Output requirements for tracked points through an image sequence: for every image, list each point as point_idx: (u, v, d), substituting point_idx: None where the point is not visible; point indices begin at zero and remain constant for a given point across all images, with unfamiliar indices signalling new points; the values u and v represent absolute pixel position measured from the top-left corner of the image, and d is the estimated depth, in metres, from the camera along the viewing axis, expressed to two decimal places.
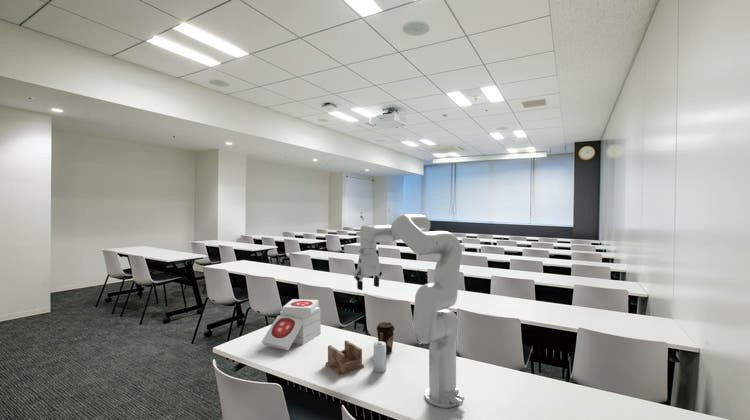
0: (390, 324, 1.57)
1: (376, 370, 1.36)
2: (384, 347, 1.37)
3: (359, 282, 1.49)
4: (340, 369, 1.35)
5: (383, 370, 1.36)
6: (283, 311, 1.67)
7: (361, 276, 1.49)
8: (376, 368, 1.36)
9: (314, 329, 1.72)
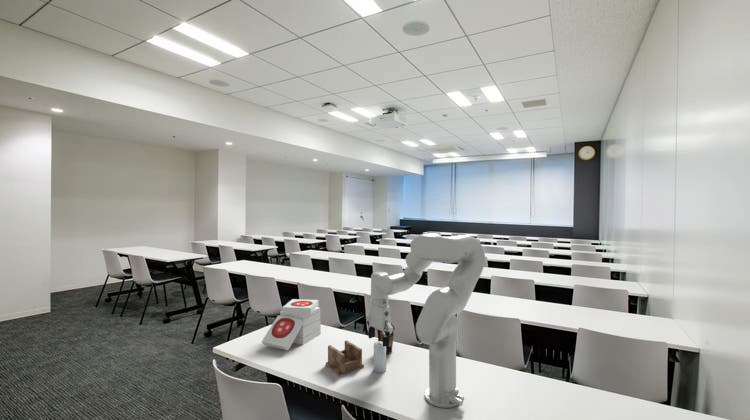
0: None
1: (376, 370, 1.36)
2: (384, 347, 1.37)
3: (388, 337, 1.35)
4: (340, 369, 1.35)
5: (383, 370, 1.36)
6: (283, 311, 1.67)
7: (388, 329, 1.36)
8: (376, 368, 1.36)
9: (314, 329, 1.72)
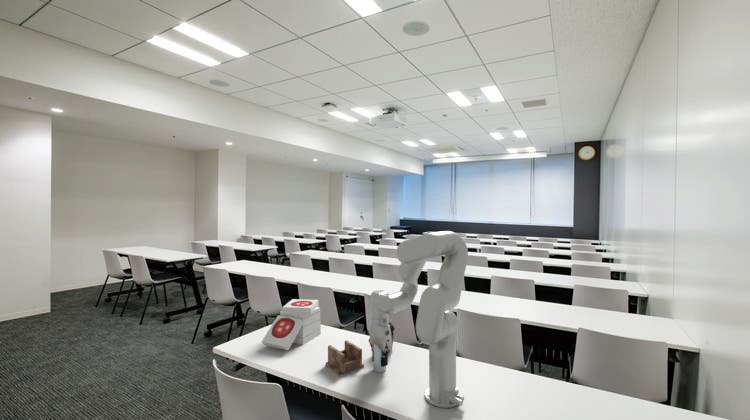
0: (390, 324, 1.57)
1: (376, 370, 1.36)
2: None
3: (386, 357, 1.36)
4: (340, 369, 1.35)
5: (383, 370, 1.36)
6: (283, 311, 1.67)
7: None
8: (376, 368, 1.36)
9: (314, 329, 1.72)
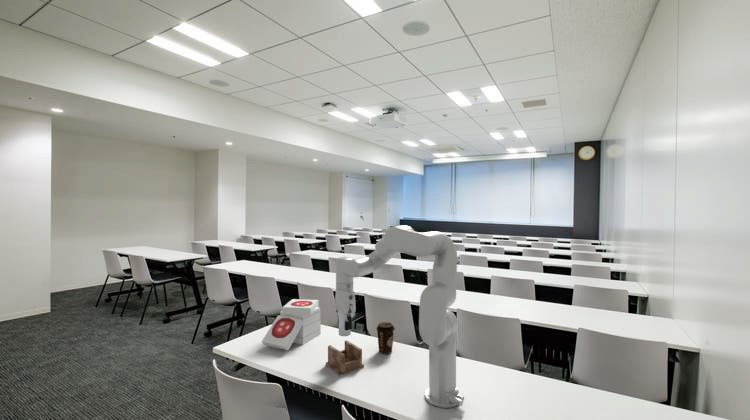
0: (390, 324, 1.57)
1: (340, 334, 1.40)
2: None
3: (350, 321, 1.39)
4: (340, 369, 1.35)
5: (347, 334, 1.40)
6: (283, 311, 1.67)
7: None
8: (340, 332, 1.40)
9: (314, 329, 1.72)
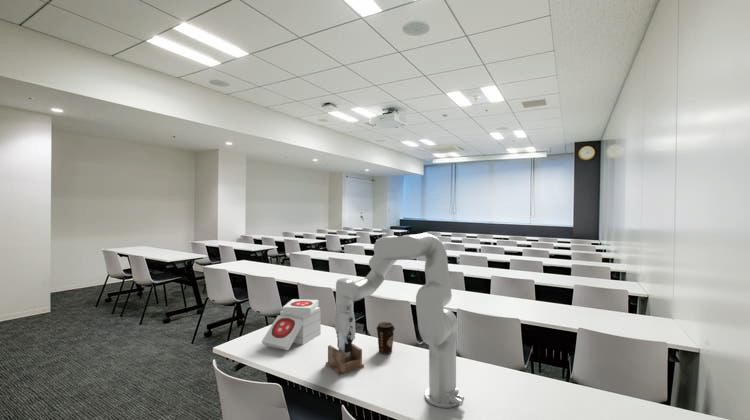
0: (390, 324, 1.57)
1: None
2: None
3: (350, 343, 1.39)
4: (340, 369, 1.35)
5: (347, 356, 1.40)
6: (283, 311, 1.67)
7: None
8: None
9: (314, 329, 1.72)
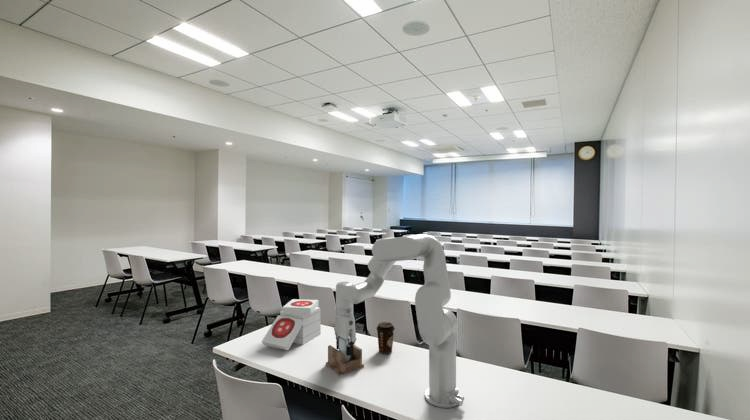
0: (390, 324, 1.57)
1: None
2: None
3: (352, 346, 1.38)
4: (340, 369, 1.35)
5: None
6: (283, 311, 1.67)
7: None
8: None
9: (314, 329, 1.72)
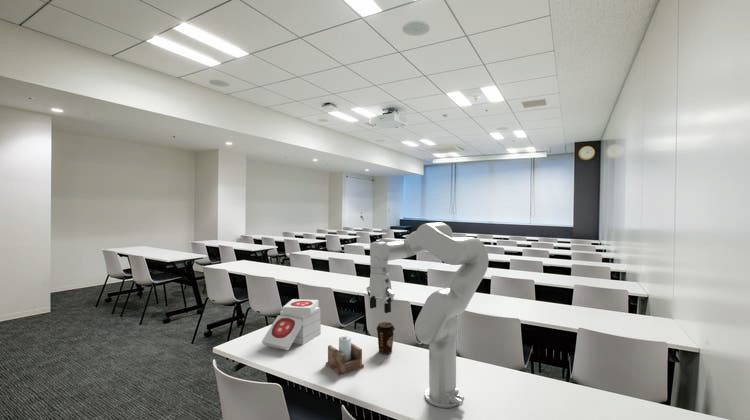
0: (390, 324, 1.57)
1: None
2: (349, 341, 1.40)
3: (390, 304, 1.37)
4: (340, 369, 1.35)
5: None
6: (283, 311, 1.67)
7: (389, 296, 1.38)
8: None
9: (314, 329, 1.72)
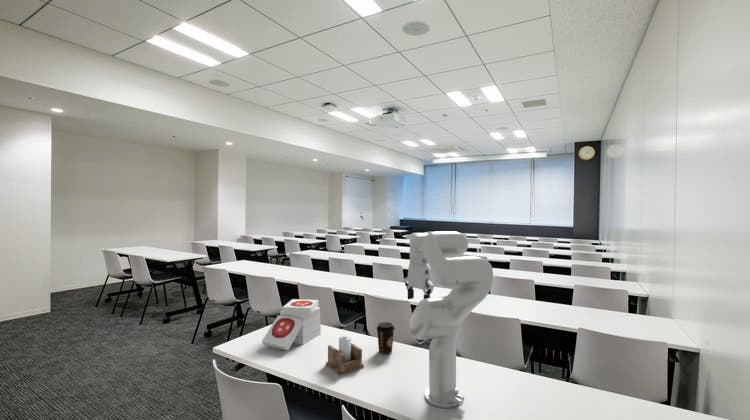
0: (390, 324, 1.57)
1: None
2: (349, 341, 1.40)
3: (429, 295, 1.37)
4: (340, 369, 1.35)
5: None
6: (283, 311, 1.67)
7: (429, 288, 1.38)
8: None
9: (314, 329, 1.72)
